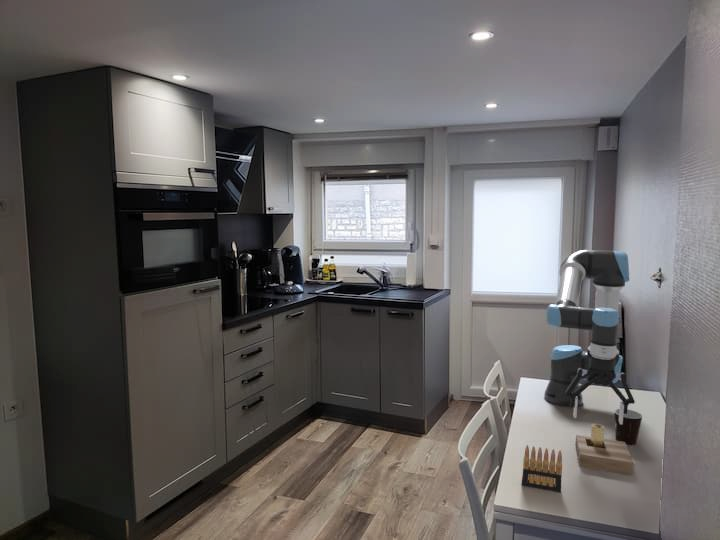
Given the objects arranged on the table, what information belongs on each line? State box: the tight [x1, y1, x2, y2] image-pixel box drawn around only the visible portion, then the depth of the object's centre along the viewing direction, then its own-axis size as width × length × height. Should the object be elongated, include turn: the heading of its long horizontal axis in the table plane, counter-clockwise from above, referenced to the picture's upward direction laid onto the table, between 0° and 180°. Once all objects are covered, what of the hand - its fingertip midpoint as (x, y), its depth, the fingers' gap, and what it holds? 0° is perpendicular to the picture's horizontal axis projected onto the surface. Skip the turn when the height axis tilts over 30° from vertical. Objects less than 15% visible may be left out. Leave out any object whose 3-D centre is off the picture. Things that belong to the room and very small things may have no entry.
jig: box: [574, 434, 634, 476], centre depth 164 cm, size 15×15×4 cm
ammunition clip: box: [521, 444, 563, 494], centre depth 146 cm, size 11×2×12 cm, turn 71°
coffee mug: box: [614, 408, 643, 446], centre depth 177 cm, size 12×9×10 cm
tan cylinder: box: [590, 423, 605, 448], centre depth 167 cm, size 4×4×10 cm
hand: (597, 419), depth 166 cm, fingers open, 13 cm apart
